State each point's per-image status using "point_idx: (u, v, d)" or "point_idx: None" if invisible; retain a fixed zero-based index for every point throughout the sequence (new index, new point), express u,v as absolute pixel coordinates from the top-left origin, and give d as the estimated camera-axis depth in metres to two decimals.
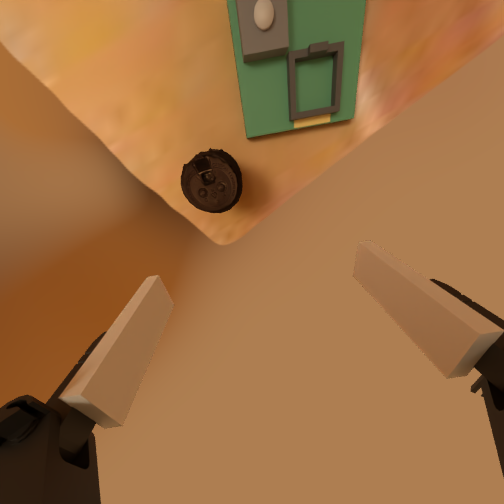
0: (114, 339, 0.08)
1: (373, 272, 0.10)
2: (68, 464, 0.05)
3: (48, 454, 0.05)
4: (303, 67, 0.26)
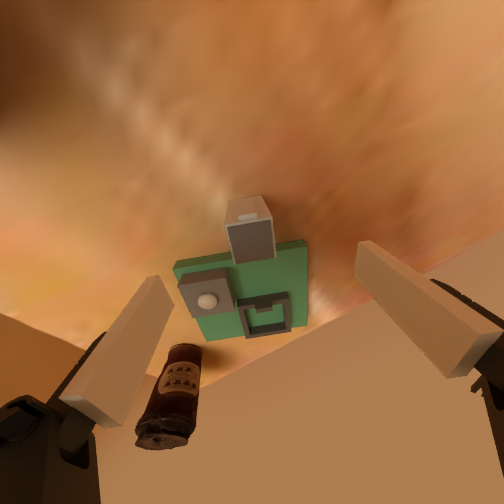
0: (114, 339, 0.08)
1: (373, 272, 0.10)
2: (68, 464, 0.05)
3: (48, 454, 0.05)
4: None
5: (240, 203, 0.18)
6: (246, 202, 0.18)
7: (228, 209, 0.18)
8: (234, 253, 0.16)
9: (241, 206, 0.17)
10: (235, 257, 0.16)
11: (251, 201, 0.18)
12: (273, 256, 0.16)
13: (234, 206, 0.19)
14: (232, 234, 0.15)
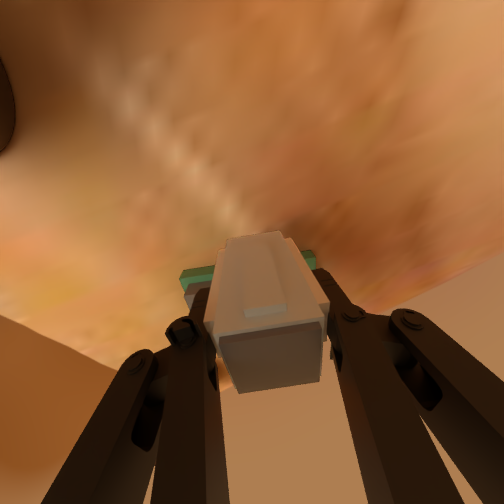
0: None
1: None
2: (210, 382, 0.07)
3: (203, 368, 0.06)
4: None
5: (247, 256, 0.10)
6: (258, 255, 0.10)
7: (225, 266, 0.10)
8: (235, 380, 0.07)
9: (249, 268, 0.09)
10: (237, 385, 0.08)
11: (267, 253, 0.10)
12: (317, 380, 0.08)
13: (236, 256, 0.11)
14: (231, 353, 0.06)
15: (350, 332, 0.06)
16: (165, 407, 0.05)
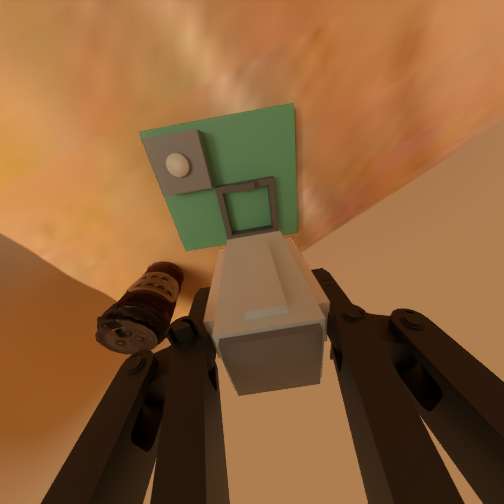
0: None
1: None
2: (210, 382, 0.07)
3: (203, 368, 0.06)
4: (236, 193, 0.25)
5: (247, 257, 0.10)
6: (258, 256, 0.10)
7: (225, 267, 0.10)
8: (235, 382, 0.07)
9: (249, 269, 0.09)
10: (237, 387, 0.07)
11: (267, 254, 0.10)
12: (317, 382, 0.08)
13: (236, 257, 0.11)
14: (231, 355, 0.06)
15: (350, 332, 0.06)
16: (165, 407, 0.05)
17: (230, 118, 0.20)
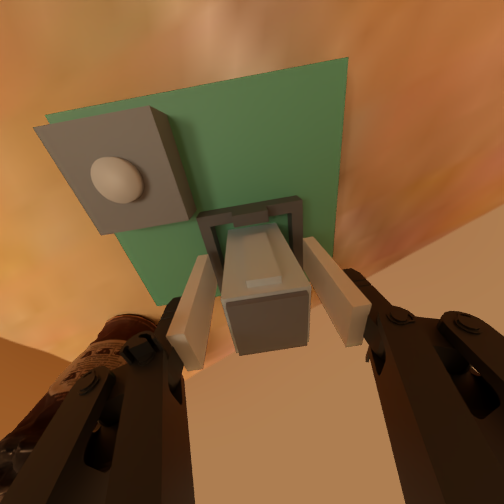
0: (192, 299, 0.09)
1: (311, 264, 0.12)
2: (172, 396, 0.06)
3: (163, 383, 0.06)
4: None
5: (247, 243, 0.11)
6: (257, 241, 0.11)
7: (228, 251, 0.11)
8: (237, 342, 0.09)
9: (250, 251, 0.10)
10: (239, 347, 0.09)
11: (265, 240, 0.11)
12: (305, 343, 0.09)
13: (237, 243, 0.12)
14: (235, 316, 0.08)
15: (397, 335, 0.06)
16: (119, 432, 0.05)
17: (222, 88, 0.10)
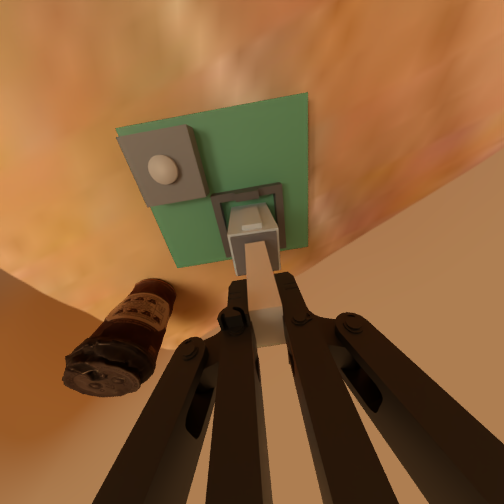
0: (258, 280, 0.10)
1: None
2: (256, 373, 0.07)
3: (252, 359, 0.06)
4: (236, 203, 0.21)
5: (244, 211, 0.17)
6: (250, 210, 0.17)
7: (231, 217, 0.18)
8: (236, 264, 0.15)
9: (245, 214, 0.16)
10: (237, 268, 0.15)
11: (255, 209, 0.17)
12: (277, 268, 0.15)
13: (237, 213, 0.18)
14: (235, 245, 0.14)
15: (298, 336, 0.07)
16: (217, 389, 0.06)
17: (228, 111, 0.16)
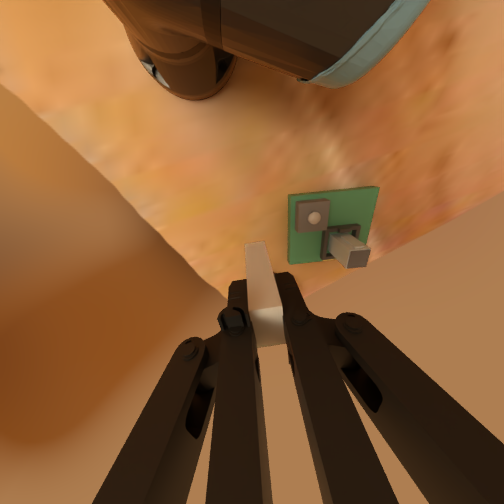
0: (258, 280, 0.10)
1: None
2: (256, 373, 0.07)
3: (252, 359, 0.06)
4: (333, 232, 0.40)
5: (345, 238, 0.36)
6: (348, 238, 0.36)
7: (339, 240, 0.37)
8: (349, 263, 0.34)
9: (349, 240, 0.35)
10: (349, 265, 0.34)
11: (351, 237, 0.36)
12: (365, 266, 0.34)
13: (339, 238, 0.37)
14: (352, 254, 0.33)
15: (298, 337, 0.07)
16: (217, 389, 0.06)
17: (343, 192, 0.36)
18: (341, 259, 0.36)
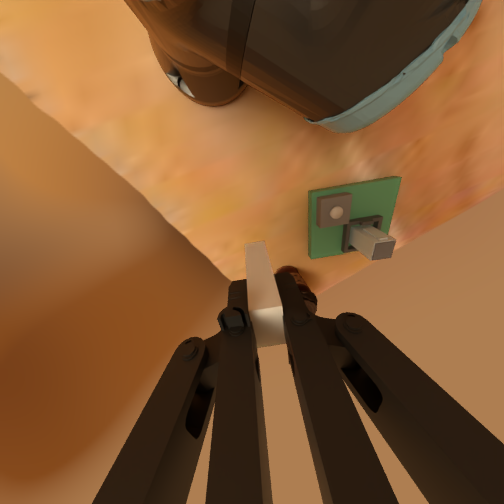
0: (258, 280, 0.10)
1: None
2: (256, 373, 0.07)
3: (252, 359, 0.06)
4: (354, 224, 0.40)
5: (368, 230, 0.37)
6: (371, 230, 0.37)
7: (361, 233, 0.37)
8: (374, 255, 0.34)
9: (372, 232, 0.36)
10: (373, 257, 0.34)
11: (374, 229, 0.37)
12: (390, 257, 0.35)
13: (362, 231, 0.38)
14: (377, 246, 0.33)
15: (298, 336, 0.07)
16: (217, 389, 0.06)
17: (364, 185, 0.36)
18: (365, 251, 0.36)
